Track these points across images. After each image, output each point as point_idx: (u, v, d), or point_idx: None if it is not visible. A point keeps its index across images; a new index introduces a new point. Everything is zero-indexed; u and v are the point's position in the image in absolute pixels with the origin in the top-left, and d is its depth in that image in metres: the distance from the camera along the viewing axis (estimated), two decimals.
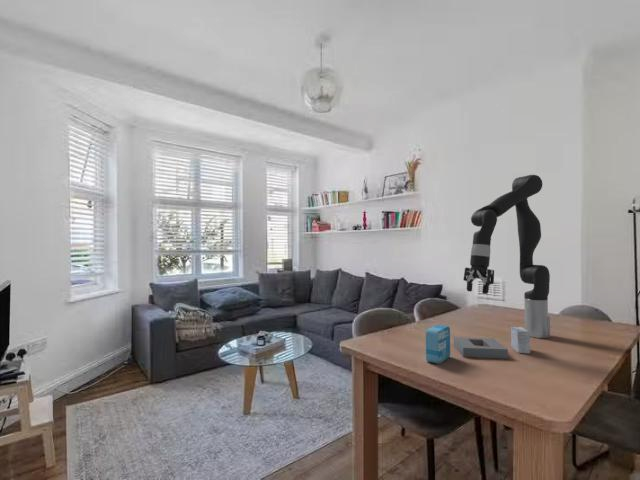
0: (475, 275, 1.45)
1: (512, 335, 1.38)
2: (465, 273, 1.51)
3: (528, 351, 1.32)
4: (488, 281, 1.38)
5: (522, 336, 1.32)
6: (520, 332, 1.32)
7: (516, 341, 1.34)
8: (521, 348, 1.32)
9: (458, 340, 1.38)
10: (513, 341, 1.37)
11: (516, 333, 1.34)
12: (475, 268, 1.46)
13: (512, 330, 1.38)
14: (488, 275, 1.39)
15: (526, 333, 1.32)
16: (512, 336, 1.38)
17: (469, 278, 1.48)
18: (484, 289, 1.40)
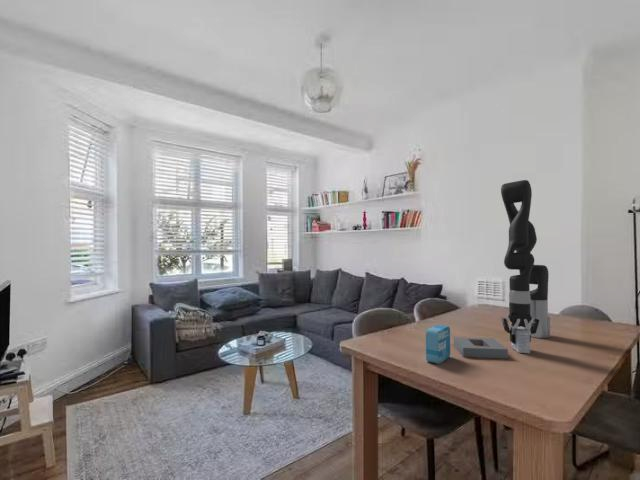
0: (521, 323, 1.35)
1: None
2: (506, 325, 1.36)
3: (528, 351, 1.32)
4: (534, 331, 1.34)
5: (522, 336, 1.32)
6: (521, 332, 1.32)
7: (516, 340, 1.34)
8: (521, 347, 1.32)
9: (458, 340, 1.38)
10: None
11: (516, 333, 1.34)
12: (518, 316, 1.35)
13: None
14: (536, 325, 1.34)
15: (526, 333, 1.32)
16: None
17: (515, 329, 1.35)
18: None
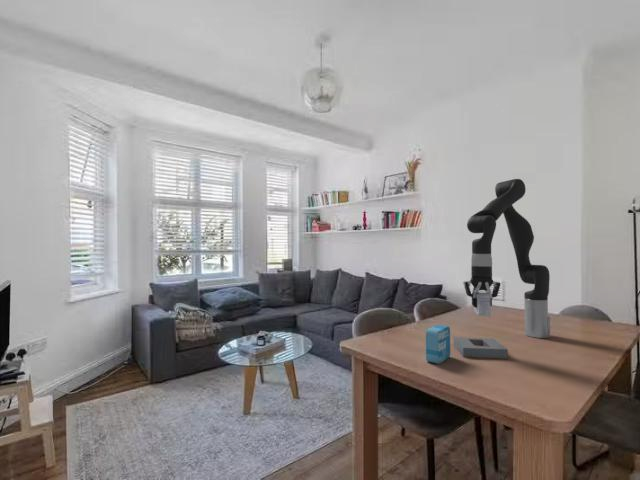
0: (482, 286, 1.34)
1: None
2: (468, 288, 1.35)
3: (488, 314, 1.31)
4: (495, 294, 1.33)
5: (483, 299, 1.31)
6: (481, 295, 1.31)
7: (477, 304, 1.33)
8: (482, 310, 1.31)
9: (458, 340, 1.38)
10: None
11: (477, 296, 1.33)
12: (480, 279, 1.34)
13: None
14: (497, 288, 1.33)
15: (487, 295, 1.31)
16: None
17: (476, 292, 1.34)
18: (490, 303, 1.34)
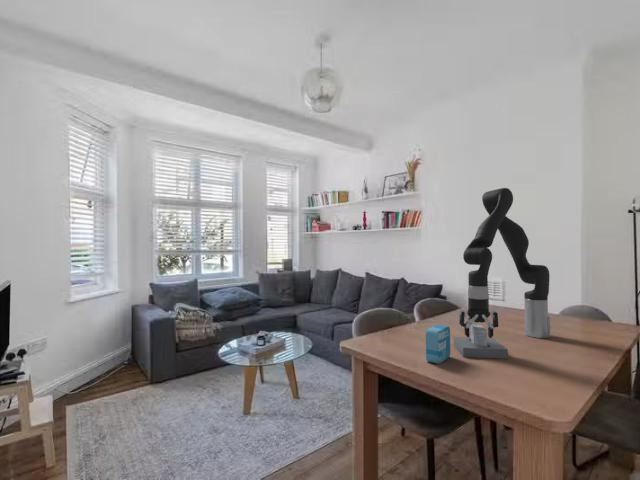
0: (477, 319, 1.34)
1: (471, 333, 1.37)
2: (463, 318, 1.35)
3: None
4: (497, 324, 1.33)
5: (480, 334, 1.31)
6: (478, 330, 1.31)
7: (474, 338, 1.33)
8: None
9: (458, 340, 1.38)
10: (472, 339, 1.36)
11: (474, 331, 1.33)
12: (476, 312, 1.34)
13: (471, 328, 1.37)
14: (496, 318, 1.33)
15: (484, 330, 1.31)
16: (471, 334, 1.37)
17: (470, 323, 1.34)
18: (491, 333, 1.33)
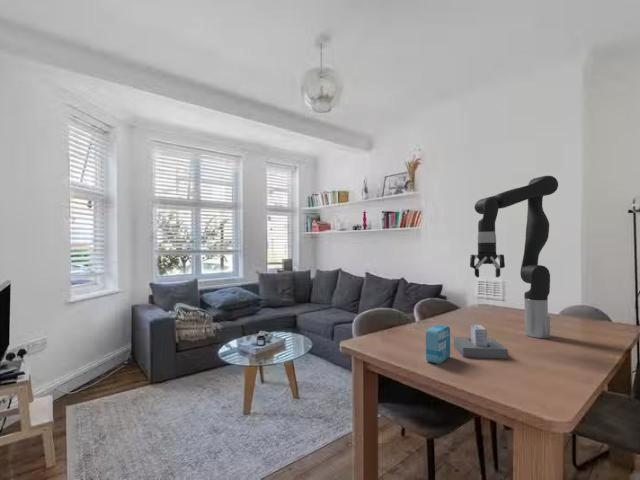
0: (486, 261, 1.52)
1: (471, 333, 1.37)
2: (473, 260, 1.53)
3: None
4: (503, 265, 1.51)
5: (480, 334, 1.31)
6: (478, 330, 1.31)
7: (474, 338, 1.33)
8: None
9: (458, 340, 1.38)
10: (472, 339, 1.36)
11: (474, 331, 1.33)
12: (485, 254, 1.52)
13: (471, 328, 1.37)
14: (502, 260, 1.51)
15: (484, 330, 1.31)
16: (471, 334, 1.37)
17: (479, 265, 1.52)
18: (498, 273, 1.51)
